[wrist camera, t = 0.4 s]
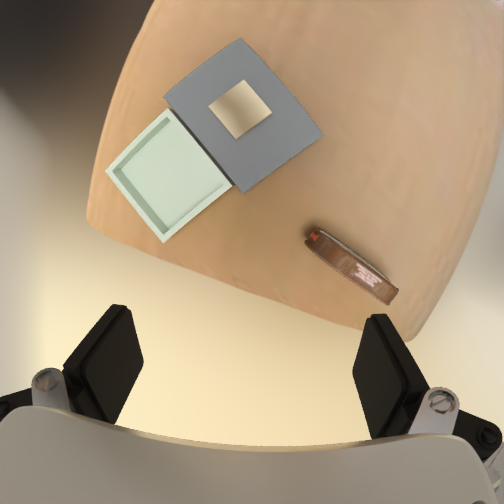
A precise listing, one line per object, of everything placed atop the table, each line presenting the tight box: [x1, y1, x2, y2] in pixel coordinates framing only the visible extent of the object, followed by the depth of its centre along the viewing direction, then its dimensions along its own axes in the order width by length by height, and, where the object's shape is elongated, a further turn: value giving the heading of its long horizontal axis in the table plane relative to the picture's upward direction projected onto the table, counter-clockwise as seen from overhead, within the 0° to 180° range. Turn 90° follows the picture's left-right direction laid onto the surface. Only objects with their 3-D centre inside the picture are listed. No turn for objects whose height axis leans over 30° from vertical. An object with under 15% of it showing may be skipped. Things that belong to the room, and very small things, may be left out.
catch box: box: [106, 108, 235, 243], centre depth 35 cm, size 12×13×3 cm
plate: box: [163, 38, 324, 194], centre depth 32 cm, size 12×16×4 cm
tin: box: [304, 228, 399, 306], centre depth 35 cm, size 15×3×8 cm, turn 57°
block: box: [208, 80, 272, 140], centre depth 29 cm, size 5×5×2 cm
